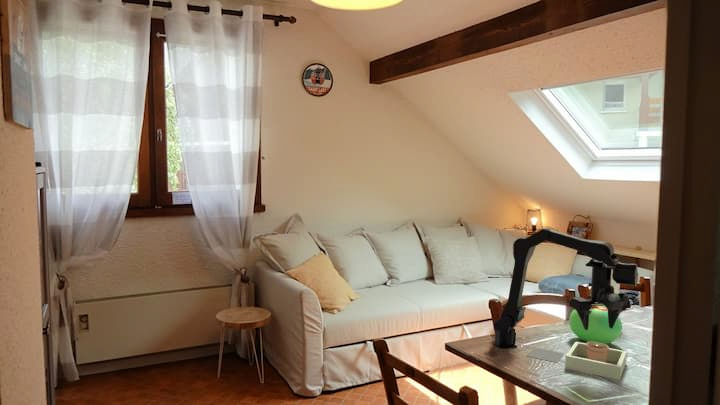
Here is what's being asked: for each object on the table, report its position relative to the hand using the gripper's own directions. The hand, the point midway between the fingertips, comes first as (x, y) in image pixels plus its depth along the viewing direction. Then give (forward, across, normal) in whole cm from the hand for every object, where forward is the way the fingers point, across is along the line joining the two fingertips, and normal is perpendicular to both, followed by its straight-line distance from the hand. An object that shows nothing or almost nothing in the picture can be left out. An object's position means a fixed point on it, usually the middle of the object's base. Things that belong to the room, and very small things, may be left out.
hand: (598, 328), depth 178 cm
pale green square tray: (+13, 0, 0) cm, 13 cm away
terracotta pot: (+12, 0, 0) cm, 12 cm away
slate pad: (+12, -12, +11) cm, 20 cm away
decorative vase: (+13, +34, +40) cm, 54 cm away
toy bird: (+13, +15, +21) cm, 29 cm away
